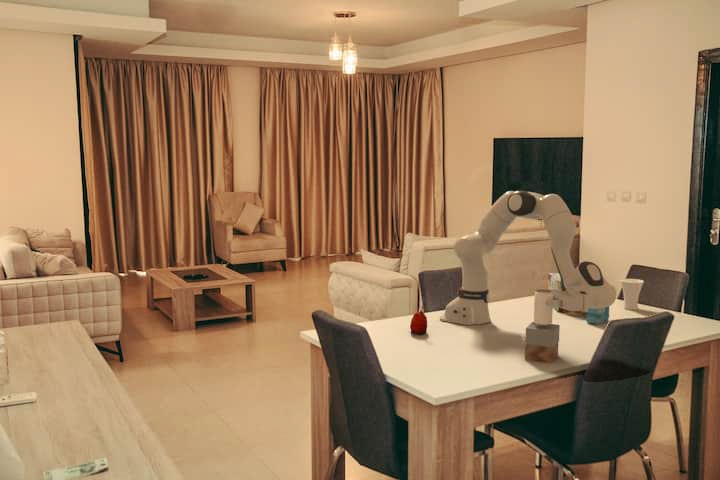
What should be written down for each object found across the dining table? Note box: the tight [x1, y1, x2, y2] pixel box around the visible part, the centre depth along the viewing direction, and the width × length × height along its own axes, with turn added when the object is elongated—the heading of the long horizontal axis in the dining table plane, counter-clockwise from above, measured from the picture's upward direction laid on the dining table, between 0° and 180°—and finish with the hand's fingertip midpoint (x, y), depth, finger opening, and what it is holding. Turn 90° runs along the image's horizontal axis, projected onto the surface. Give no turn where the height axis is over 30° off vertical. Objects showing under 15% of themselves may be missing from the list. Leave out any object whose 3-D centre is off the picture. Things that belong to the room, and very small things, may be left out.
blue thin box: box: [586, 306, 610, 325], centre depth 309 cm, size 12×4×12 cm, turn 134°
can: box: [533, 288, 554, 325], centre depth 255 cm, size 6×6×12 cm
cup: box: [619, 278, 645, 311], centre depth 333 cm, size 10×10×14 cm
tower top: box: [524, 321, 561, 348], centre depth 256 cm, size 10×10×6 cm
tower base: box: [524, 342, 559, 365], centre depth 257 cm, size 10×10×6 cm
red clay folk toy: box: [409, 298, 428, 335], centre depth 291 cm, size 8×7×15 cm
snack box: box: [547, 272, 569, 313], centre depth 337 cm, size 21×6×15 cm, turn 179°
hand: (541, 300), depth 254 cm, fingers closed on can, 6 cm apart
